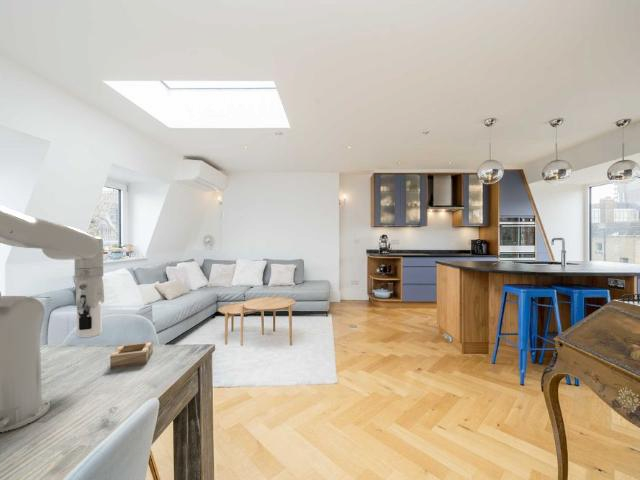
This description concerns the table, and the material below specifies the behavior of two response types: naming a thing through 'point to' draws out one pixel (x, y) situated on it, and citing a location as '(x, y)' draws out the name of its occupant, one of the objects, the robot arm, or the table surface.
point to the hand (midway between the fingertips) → (89, 325)
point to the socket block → (131, 355)
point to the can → (96, 323)
